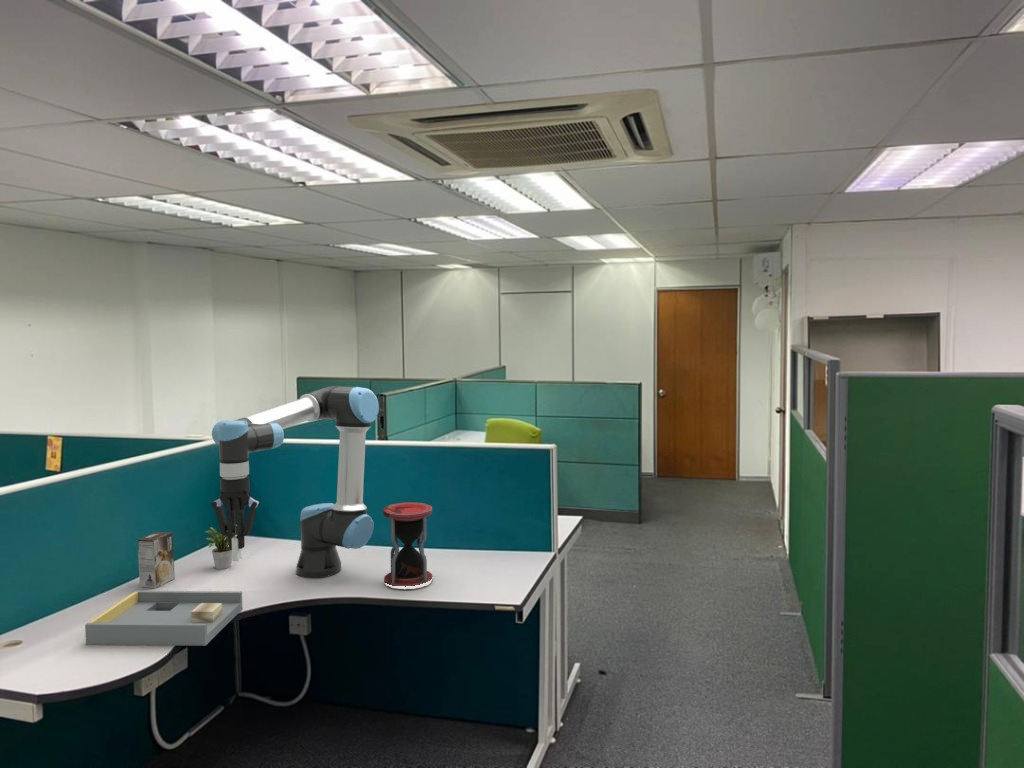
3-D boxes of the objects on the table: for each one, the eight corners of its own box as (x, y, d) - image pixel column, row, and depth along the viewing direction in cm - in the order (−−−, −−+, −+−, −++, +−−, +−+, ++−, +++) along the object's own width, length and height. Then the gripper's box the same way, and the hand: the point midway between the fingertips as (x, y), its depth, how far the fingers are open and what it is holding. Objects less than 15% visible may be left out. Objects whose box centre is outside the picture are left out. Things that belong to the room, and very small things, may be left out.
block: (222, 613, 197) (222, 603, 196) (212, 622, 191) (212, 611, 190) (201, 613, 197) (201, 603, 196) (191, 622, 191) (191, 611, 190)
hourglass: (406, 570, 240) (405, 499, 238) (442, 579, 231) (442, 506, 229) (373, 584, 226) (372, 509, 225) (410, 594, 218) (410, 517, 216)
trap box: (242, 609, 206) (241, 591, 205) (205, 645, 182) (204, 625, 181) (136, 608, 206) (136, 590, 206) (86, 644, 182) (85, 624, 182)
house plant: (223, 576, 233) (222, 529, 232) (191, 572, 237) (189, 526, 236) (252, 563, 247) (250, 519, 245) (220, 559, 251) (219, 515, 250)
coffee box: (158, 577, 232) (156, 531, 231) (175, 578, 231) (173, 532, 230) (138, 587, 223) (136, 539, 222) (156, 588, 222) (154, 540, 221)
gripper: (263, 473, 194) (265, 555, 196) (217, 473, 194) (219, 555, 196) (252, 479, 187) (255, 564, 188) (205, 479, 187) (207, 563, 189)
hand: (237, 559), depth 192 cm, fingers closed
